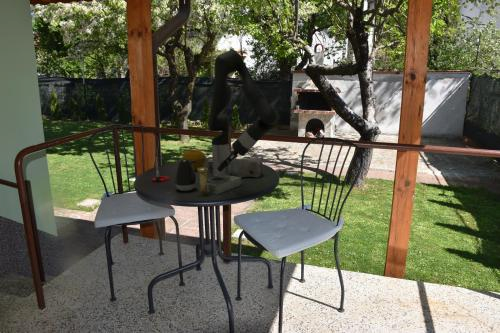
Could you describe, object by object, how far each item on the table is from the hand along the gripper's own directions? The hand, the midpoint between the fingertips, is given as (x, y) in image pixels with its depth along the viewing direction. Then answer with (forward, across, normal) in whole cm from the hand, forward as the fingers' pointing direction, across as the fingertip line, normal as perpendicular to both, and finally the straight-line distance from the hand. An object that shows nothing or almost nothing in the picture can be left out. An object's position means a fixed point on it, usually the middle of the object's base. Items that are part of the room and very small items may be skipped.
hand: (220, 168), depth 187 cm
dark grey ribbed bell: (+22, -7, -4) cm, 23 cm away
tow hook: (+35, -25, -17) cm, 46 cm away
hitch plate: (+10, -10, +7) cm, 16 cm away
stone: (+2, -34, +16) cm, 37 cm away
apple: (+26, -47, -8) cm, 54 cm away
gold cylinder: (+15, 0, +3) cm, 15 cm away
